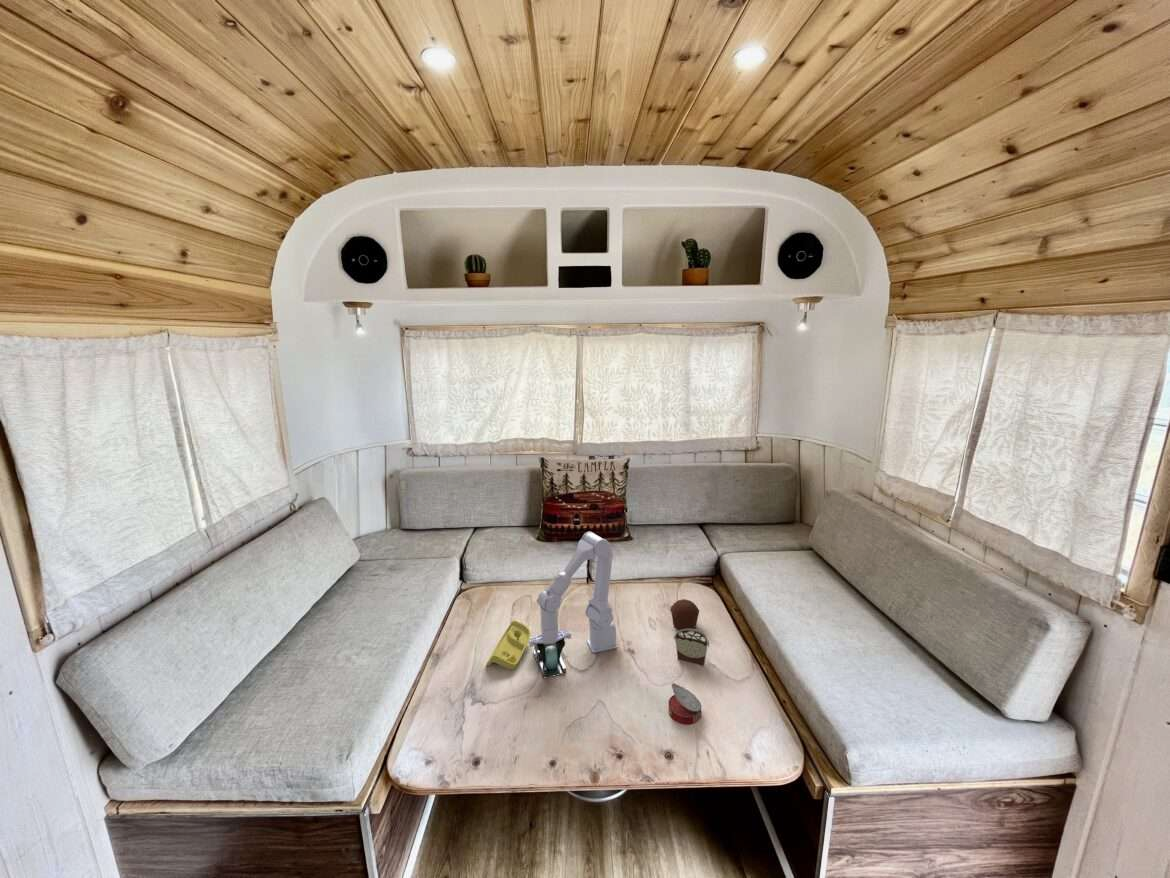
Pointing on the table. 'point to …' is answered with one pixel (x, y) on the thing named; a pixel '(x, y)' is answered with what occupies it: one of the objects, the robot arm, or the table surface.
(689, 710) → the canned food
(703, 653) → the food container
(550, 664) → the teal rounded cylinder
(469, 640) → the table surface
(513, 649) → the plastic component
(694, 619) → the muffin
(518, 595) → the table surface
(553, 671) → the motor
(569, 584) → the robot arm
